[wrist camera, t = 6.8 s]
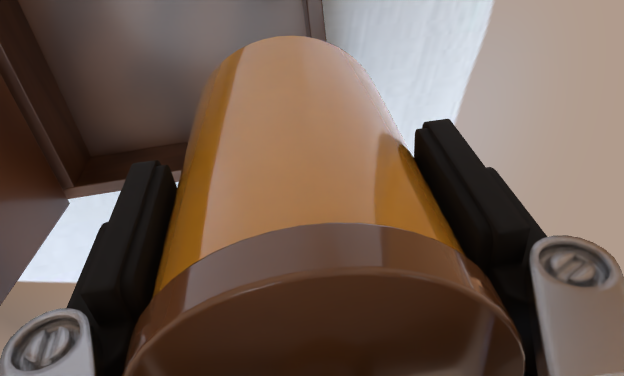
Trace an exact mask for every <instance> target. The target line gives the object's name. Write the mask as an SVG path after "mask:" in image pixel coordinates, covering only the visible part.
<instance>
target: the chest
mask: <svg viewBox="0 0 624 376" xmlns="http://www.w3.org/2000/svg"><path fill="white" fill-rule="evenodd" d="M277 36H305V37H310V38H315V39H319V40H322V41H325V42H326V33H325V24H324V14H323V5H322V0H0V74H1V76H2V78H3V80H4V82H5V84H6V85H7V87H8V89H9V91H10V93H11V95H12V97H13V99H14V100H15V102H16V104H17V106H18V108H19V110H20V112H21V113H22V115H23V117H24V119H25V121H26V123H27V125H28V126H29V128H30V130H31V132H32V134H33V136H34V138H35V140H36V141H37V143H38V145H39V147H40V149H41V151H42V153H43V154H44V156H45V158H46V160H47V162H48V164H49V166H50V168H51V169H52V171H53V173H54V175H55V177H56V179H57V181H58V182H59V184H60V186H61V188H62V190H63V192H64V194H65V195H66V197H67V199H71V198H77V197H84V196H90V195H96V194H102V193H109V192H115V191H121V190H122V187H123V185H124V182H125V180H126V177H127V175H128V172H129V170H130V167H131V165H132V164H133V163H139V162H146V161H153V160H158V161H159V162H160V163H161V165H168V166H169V167H170V169H171V172H172V175H173V178H174V181H175V182H178V181H179V179H180V175H181V170H182V166H183V162H184V158H185V153H186V149H187V145H188V140H189V136H190V132H191V128H192V123H193V119H194V115H195V111H196V107H197V103H198V98H199V96H200V93H201V91H202V88H203V86H204V85H205V83H206V81H207V80H208V78H209V76H210V75H211V74H212V72H213V71H214V70H215V69H216V68H217V66H218V65H219V64H221V63H222V62H223V61H224V60H225V59H226V58H227V57H229V56H230V55H231V54H233V53H234V52H236V51H237V50H239V49H241V48H243V47H245V46H247V45H249V44H251V43H254V42H257V41H260V40H263V39H267V38H272V37H277Z"/></svg>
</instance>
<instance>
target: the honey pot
mask: <svg viewBox="0 0 624 376" xmlns="http://www.w3.org/2000/svg"><path fill="white" fill-rule="evenodd" d="M526 369H527V367H526V349H525V346H524V343H523V339H522V336H521V334H520V332H519V330H518V328H517V326H516V325H515V323H514V321H513V319H512V317H511V316H510V314H509V312H508V310H507V309H506V307H505V305H504V303H503V301H502V300H501V298H500V296H499V294H498V293H497V291H496V289H495V287H494V286H493V284H492V282H491V281H490V279H489V278H488V277H487V276H486V275H485V274H484V272H483V271H482V270H481V269H480V268H479V267H478V266H477V265H476V264H475V263H473V262H472V261H471V260H469V259H468V258H467V257H466V255H465V253H464V251H463V249H462V247H461V245H460V243H459V242H458V240H457V238H456V236H455V234H454V232H453V230H452V228H451V227H450V225H449V223H448V221H447V219H446V217H445V215H444V214H443V212H442V210H441V208H440V206H439V204H438V202H437V200H436V199H435V197H434V195H433V193H432V191H431V189H430V187H429V185H428V184H427V182H426V180H425V178H424V176H423V174H422V172H421V170H420V169H419V167H418V165H417V163H416V161H415V159H414V157H413V155H412V154H411V152H410V150H409V148H408V146H407V144H406V142H405V140H404V139H403V137H402V135H401V133H400V131H399V129H398V127H397V125H396V124H395V122H394V120H393V118H392V116H391V114H390V112H389V110H388V109H387V107H386V105H385V103H384V101H383V99H382V97H381V96H380V94H379V92H378V90H377V88H376V86H375V84H374V83H373V81H372V79H371V77H370V76H369V74H368V73H367V72H366V70H365V69H364V68H363V67H362V65H361V64H360V63H359V62H358V61H356V60H355V59H354V58H353V57H352V56H351V55H349V54H348V53H346V52H345V51H343V50H342V49H340V48H338V47H336V46H334V45H332V44H330V43H328V42H325V41H322V40H319V39H315V38H310V37H305V36H277V37H272V38H267V39H263V40H260V41H257V42H254V43H251V44H249V45H247V46H245V47H243V48H241V49H239V50H237V51H236V52H234V53H233V54H231V55H230V56H229V57H227V58H226V59H225V60H224V61H223V62H222V63H221V64H219V65H218V66H217V68H216V69H215V70H214V71H213V72H212V74H211V75H210V76H209V78H208V80H207V81H206V83H205V85H204V86H203V88H202V91H201V93H200V96H199V98H198V103H197V107H196V111H195V115H194V119H193V123H192V128H191V132H190V136H189V140H188V145H187V149H186V153H185V158H184V162H183V166H182V170H181V175H180V179H179V183H178V187H177V192H176V196H175V200H174V204H173V209H172V213H171V217H170V221H169V226H168V230H167V234H166V238H165V243H164V247H163V251H162V256H161V260H160V264H159V268H158V273H157V277H156V281H155V285H154V290H153V294H152V298H151V301H150V303H149V304H148V306H147V307H146V308H145V310H144V311H143V313H142V314H141V315H140V317H139V319H138V322H137V324H136V326H135V328H134V330H133V332H132V336H131V340H130V344H129V347H128V351H127V355H126V359H125V363H124V367H123V371H122V375H121V376H525V375H526Z"/></svg>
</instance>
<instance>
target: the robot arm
mask: <svg viewBox="0 0 624 376" xmlns="http://www.w3.org/2000/svg"><path fill="white" fill-rule="evenodd" d="M414 159H415V161H416V163H417V165H418V167H419V169H420V170H421V172H422V174H423V176H424V178H425V180H426V182H427V184H428V185H429V187H430V189H431V191H432V193H433V195H434V197H435V199H436V200H437V202H438V204H439V206H440V208H441V210H442V212H443V214H444V215H445V217H446V219H447V221H448V223H449V225H450V227H451V228H452V230H453V232H454V234H455V236H456V238H457V240H458V242H459V243H460V245H461V247H462V249H463V251H464V253H465V255H466V257H467V258H468V259H469V260H471V261H472V262H473V263H475V264H476V265H477V266H478V267H479V268H480V269H481V270H482V271H483V272H484V274H485V275H486V276H487V277H488V278H489V279H490V281H491V282H492V284H493V286H494V287H495V289H496V291H497V293H498V294H499V296H500V298H501V300H502V301H503V303H504V305H505V307H506V309H507V310H508V312H509V314H510V316H511V317H512V319H513V321H514V323H515V325H516V326H517V328H518V330H519V332H520V334H521V336H522V339H523V343H524V346H525V349H526V367H527V369H526V375H525V376H624V277H623V274H622V271H621V269H620V266H619V265H618V263H617V262H616V260H615V258H614V257H613V256H612V255H611V254H609V253H608V252H607V251H606V250H605V249H604V248H602V247H600V246H598V245H597V244H595V243H593V242H590V241H587V240H585V239H582V238H578V237H572V236H551V237H547V236H546V234H545V233H544V232H543V231H542V229H541V228H540V227H539V225H538V224H537V223H536V221H535V220H534V219H533V218H532V216H531V215H530V214H529V212H528V211H527V210H526V209H525V207H524V206H523V205H522V203H521V202H520V201H519V200H518V198H517V197H516V196H515V194H514V193H513V192H512V191H511V189H510V188H509V187H508V185H507V184H506V183H505V182H504V180H503V179H502V178H501V176H500V175H499V174H498V173H497V171H496V170H494V169H493V168H491V167H487V168H486V167H485V166H484V165H483V163H482V162H481V161H480V159H479V158H478V157H477V155H476V154H475V153H474V151H473V150H472V149H471V147H470V146H469V145H468V143H467V142H466V141H465V139H464V138H463V137H462V135H461V134H460V133H459V131H458V130H457V129H456V127H455V126H454V125H453V123H452V122H451V121H450V120H449V119H443V120H436V121H429V122H424V124H423V127H422V129H417V130H416V132H415V148H414ZM176 192H177V187H176V184H175V181H174V178H173V175H172V172H171V169H170V167H169V166H168V165H161V163H160V162H159V161H158V160H153V161H146V162H139V163H133V164H132V165H131V167H130V170H129V172H128V175H127V177H126V180H125V182H124V185H123V187H122V190H121V192H120V195H119V197H118V200H117V202H116V205H115V207H114V210H113V212H112V215H111V217H110V220H109V222H106V223H104V224H102V226H101V228H100V229H99V232H98V234H97V236H96V239H95V241H94V244H93V246H92V248H91V251H90V253H89V256H88V258H87V260H86V263H85V265H84V268H83V270H82V272H81V275H80V277H79V279H78V282H77V284H76V287H75V289H74V291H73V294H72V296H71V299H70V301H69V303H68V306H67V308H65V309H56V310H53V311H49V312H46V313H44V314H42V315H40V316H38V317H36V318H34V319H32V320H30V321H29V322H28V323H26V324H25V325H24V326H22V327H21V328H20V329H19V330H18V331H17V332H16V333H15V334H14V335H13V336H12V337H11V338H10V339H9V341H8V342H7V344H6V346H5V347H4V349H3V352H2V355H1V358H0V376H121V375H122V371H123V367H124V363H125V359H126V355H127V351H128V347H129V344H130V340H131V336H132V332H133V330H134V328H135V326H136V324H137V322H138V319H139V317H140V315H141V314H142V313H143V311H144V310H145V308H146V307H147V306H148V304H149V303H150V301H151V298H152V294H153V290H154V285H155V281H156V277H157V273H158V268H159V264H160V260H161V256H162V251H163V247H164V243H165V238H166V234H167V230H168V226H169V221H170V217H171V213H172V209H173V204H174V200H175V196H176Z"/></svg>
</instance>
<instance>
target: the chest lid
mask: <svg viewBox="0 0 624 376" xmlns="http://www.w3.org/2000/svg"><path fill="white" fill-rule="evenodd" d="M69 204H70V203H69V201H68V199H67V197H66V195H65V194H64V192H63V190H62V188H61V186H60V184H59V182H58V181H57V179H56V177H55V175H54V173H53V171H52V169H51V168H50V166H49V164H48V162H47V160H46V158H45V156H44V154H43V153H42V151H41V149H40V147H39V145H38V143H37V141H36V140H35V138H34V136H33V134H32V132H31V130H30V128H29V126H28V125H27V123H26V121H25V119H24V117H23V115H22V113H21V112H20V110H19V108H18V106H17V104H16V102H15V100H14V99H13V97H12V95H11V93H10V91H9V89H8V87H7V85H6V84H5V82H4V80H3V78H2V76H1V74H0V305H1V304H2V302H3V301H4V299H5V298H6V297H7V295H8V294H9V292H10V291H11V289H12V287H13V286H14V285H15V283H16V282H17V280H18V279H19V278H20V276H21V275H22V273H23V272H24V270H25V269H26V267H27V266H28V264H29V263H30V261H31V260H32V258H33V257H34V256H35V254H36V253H37V251H38V250H39V248H40V247H41V245H42V244H43V242H44V241H45V239H46V238H47V236H48V235H49V233H50V232H51V231H52V229H53V228H54V226H55V225H56V223H57V222H58V220H59V219H60V217H61V216H62V214H63V213H64V211H65V210H66V209H67V207H68V206H69Z"/></svg>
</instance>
